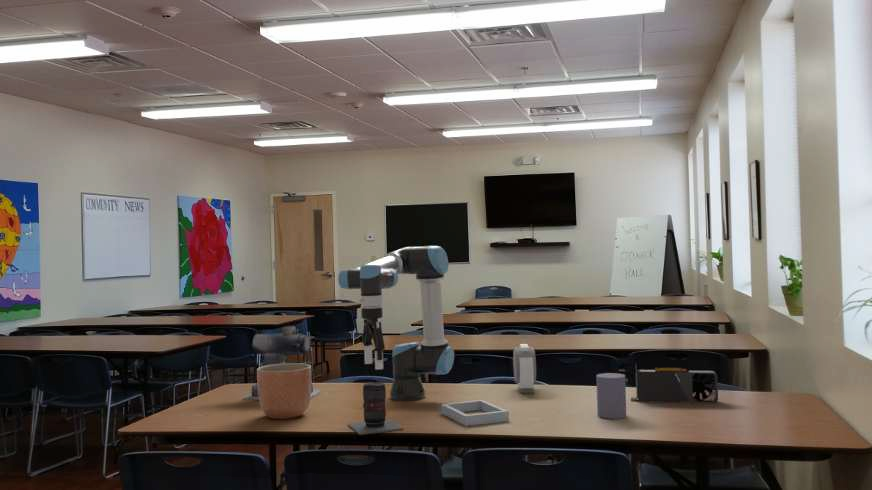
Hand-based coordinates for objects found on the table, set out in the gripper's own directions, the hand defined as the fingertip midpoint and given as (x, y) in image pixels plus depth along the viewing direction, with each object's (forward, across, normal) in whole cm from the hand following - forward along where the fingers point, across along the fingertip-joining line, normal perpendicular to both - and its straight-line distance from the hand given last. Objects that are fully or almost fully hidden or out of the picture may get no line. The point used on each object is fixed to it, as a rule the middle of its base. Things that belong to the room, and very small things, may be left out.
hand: (373, 366), depth 268 cm
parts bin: (+22, +2, +38) cm, 44 cm away
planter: (+22, -35, -26) cm, 49 cm away
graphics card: (+23, +15, +119) cm, 122 cm away
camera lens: (+21, 0, 0) cm, 21 cm away
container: (+23, +25, +83) cm, 89 cm away
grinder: (+23, -78, -20) cm, 83 cm away
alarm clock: (+23, -35, +79) cm, 89 cm away
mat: (+22, 0, 0) cm, 22 cm away
